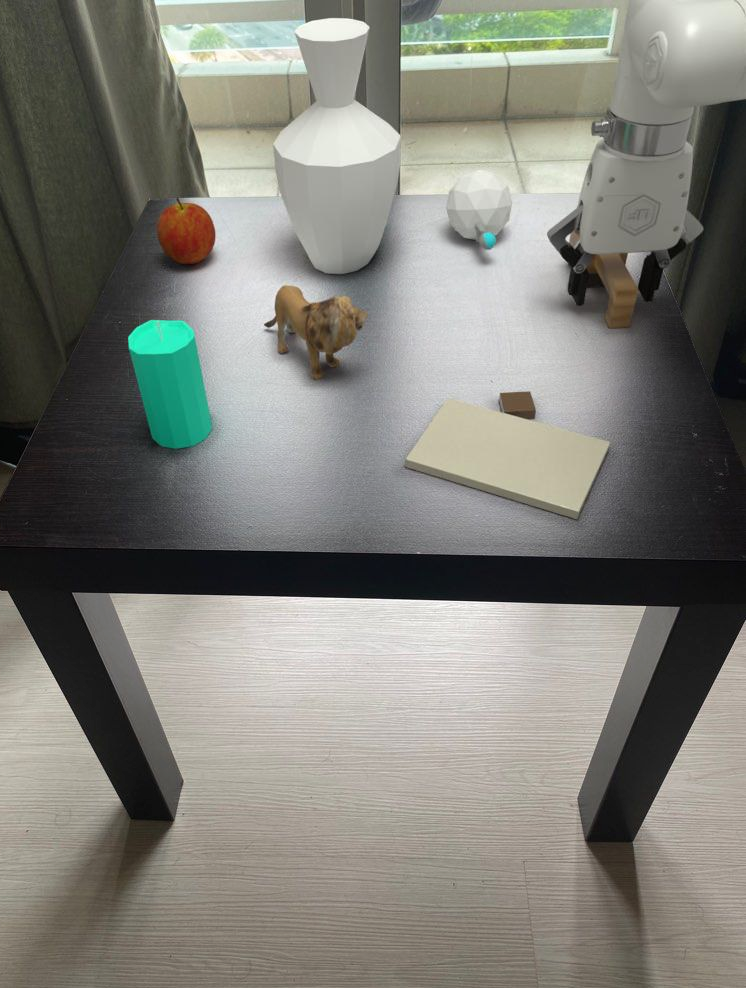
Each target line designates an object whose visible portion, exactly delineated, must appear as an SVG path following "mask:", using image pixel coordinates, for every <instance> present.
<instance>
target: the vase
mask: <svg viewBox="0 0 746 988" xmlns="http://www.w3.org/2000/svg"><path fill="white" fill-rule="evenodd" d="M369 32H370V25H368V24H367V23H366V22H365V21H362V20H358V19H354V18H348V17H347V18H346V17H345V18H344V17H342V18H341V17H328V18H322V19H316V20H311V21H307V22H306V23H303V24H300V25H298V27H296V29H295V30H294V35H295V38H296V41H297V44H298V47H299V50H300V54H301V57H302V61H303V63H304V67H305V70H306V73H307V76H308V80H309V82H310V85H311V89H312V92H313V95H314V98H315V101H314V102H313V103H312V104H311V105H310V106H309V107H308V108H306V109H305V110H304V111H303V112H302V113H301V114H299V115H298V116H296V118H295V119H293V120H292V121H291V122H290V123H289V124H288V125H286V126H285V127H284V128H283V129H282V130H281V131H280V132H279V134H278V135H277V137H276V138H275V140H274V142H273V143H272V148H273V159H274V169H275V175H276V179H277V180H276V181H277V185H278V189H279V194H280V196H281V199H282V201H283V204H284V207H285V209H286V212H287V215H288V218H289V219H290V222H291V225H292V228H293V230H294V233H295V234H296V237H297V238H298V240H299V242H300V244H301V245H302V247H303V249H304V251H305V253H306V254H307V256H308V258H309V260H310V262H311V264H312V265H313V268H314V269H315V270H317V271H320V272H322V273H325V274H328V275H329V274H331V275H345V274H349V273H354V272H358V271H359V270H361V269H362V268H364V267H365V266H367V265H368V264H370V262H371V260H372V259H373V257H374V256H375V254H376V253H377V251H378V248H379V246H380V245H381V241H382V238H383V235H384V232H385V229H386V227H387V224H388V220H389V216H390V213H391V209H392V205H393V202H394V198H395V194H396V191H397V187H398V183H399V178H400V177H399V176H400V169H401V161H402V160H401V156H402V155H401V151H402V150H401V149H402V147H401V146H402V145H401V144H402V136H401V134H399V132H398V131H397V130H396V129H395V128H394V127H393V126H392V125H391V124H390V123H388V121H386V120H384V119H383V118H382V117H380V116H378V115H377V114H375V113H374V112H373V111H371V110H370V109H369V108H367V107H365V106H364V105H363V104H361V103H360V102H359V101H357V100H355V97H356V92H357V87H358V82H359V78H360V73H361V69H362V64H363V60H364V55H365V50H366V46H367V41H368V37H369Z"/></svg>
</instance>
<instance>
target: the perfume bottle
mask: <svg viewBox="0 0 746 988" xmlns="http://www.w3.org/2000/svg"><path fill="white" fill-rule="evenodd" d="M510 191H511V190H510V185H509V184H508V183H507V182H505V180H504V179H502V178H501V177H500V176H499V175H498V174H496V172H492V171H488V170H483V169H480V168H479V169H476V170H473V171H470V172H467V173H465V174H462V175H460V176H459V178H458V179H457V180H456V182H454V184H453V185H452V186H451V188H450V189H449V190H448V195H447V200H446V204H445V205H446V206H445V210H446V213H447V217H448V222H449V224H450V227H452V228H453V229H454V230H455V231H456V232H457V233H458V234H459V235H460V236H461V237H462V238H464V239H467V240H468V239H469V240H473V241H475V242H476V243H479V246H480V248H482V249H483V250H485V251H491V250H492V248H495V245H496V242H497V237H496V236H497V235H498V234H499V233H500V232H501V231H502V229H503V228H504V227H505V226H506V225H507V223H508V222H509V221H510V218H511V213H512V205H513V200H512V195H511V192H510Z"/></svg>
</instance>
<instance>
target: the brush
mask: <svg viewBox="0 0 746 988" xmlns="http://www.w3.org/2000/svg"><path fill="white" fill-rule="evenodd" d="M579 239H580V235H578V234H576V233H575V231H573V232H572V233H570V234H569V241H568V242H569V244H570V245H571V246H572V247H573V248H574V246H575V245H576V243H577V242H578V240H579ZM628 255H629V253H620V254H596V255H595V256H594V258H593V259H592V261H591V262H590V264H589V265H588V266H587V270H588V272H589V280H588V285H587V288H594V287H604V288H605V290H606V291H607V294H608V296H609V299H608V304H607V308H606V312H605V317H604V319H605V322H606V325H607V327H608V328H609V329H617V328H619V329H620V328H629V327H630V325H631V320H632V317H633V312H634V309H635V305H636V302H637V298H638V293H639V290H638V285H637V284H636V282H635V280H634V279H633V277H632V274H631V273H630V271H629V269H628V268H627V266H626V264H627V259H628ZM567 265H568V267H569V269H570V270H571V266H570V265H569V264H568V263H567Z"/></svg>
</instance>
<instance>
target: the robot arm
mask: <svg viewBox="0 0 746 988" xmlns="http://www.w3.org/2000/svg"><path fill="white" fill-rule="evenodd" d="M627 4H628V5H627V9H626V13H625V20H624V26H623V31H622V38H621V43H620V48H619V54H618V59H617V64H616V71H615V76H614V82H613V85H612V87H613V88H612V92H611V98H610V104H609V107H608V108H607V109H606V113H605V116H604V117H603V118H600V120H593V121H592V122H591V127H590V131H591V136H592V137H599V138H601V139H599V140H598V141H597V142H596V144H595V147H594V149H593V152H592V155H591V157H590V159H589V163H588V164H587V165H588V166H587V169H586V171H585V175H584V178H583V182H582V186H581V189H580V194H579V197H578V201H577V204H576V205H577V206H576V208H575V209H574V210H573V211H571V212H570V213H569V214H567V215H566V216H565V217H563V218H562V219H561V220H560V221H558V222H557V223H556V224H555V225H553V226H552V227H551V228H550V229H548V230H547V232H546V237H547V238H548V240H549V243H550V244H551V245H552V246H553V247H554V249H555V250H556V251H557V253H558V254H559V256H560V255H561V258H562V259H563V260H564V261H565V262H566V263H567V265H568V264H569V265H570V266H571V269H570V270H569V275H568V282H567V293H568V296H569V297H572V299H573V302H574V304H575V306H576V307H582V306H584V305H585V301H586V295H587V291H588V287H587V285H588V280H589V272H588V270H587V266H588V265H589V264H590V262H591V261H592V259H593V258H594V256H595V255H596V254H620V253H628V254H635V253H637V254H638V253H649V254H647V255H646V256H645V257H644V259H643V263H642V266H641V272H640V275H639V276H640V277H639V280H638V284H637V288H638V293H639V294H640V296H641V298H642V299H643V301H644V302H645V303H652V302H653V300H654V295H655V291H657V292H658V290H659V288H660V285H661V280H662V277H663V273H664V269H666V268H668V267H669V266H670V265H671V261H672V260H673V259H675V258H676V257H677V256H678V255H680V254H681V253H682V252H684V251H685V250H686V248H687V245H688V244H691V243H692V242H693V241H694V240H695V239H696V238H697V237H699V236H700V235H701V234H702V233H703V232H704V226H703V225H702V223H701V222H700V221H699V220H698V218H697V217H695V215H694V214H693V213H692V212H690V210H688V204H689V196H690V191H691V183H692V171H693V160H694V159H693V158H694V157H693V156H694V147H693V146H692V145H691V143H689V142H688V141H687V140H688V139H687V138H688V134H689V131H690V126H691V122H692V118H693V114H694V112H695V111H694V109H695V108H698V107H704V106H711V105H712V106H713V105H719V104H721V103H728V102H736V101H743V100H746V0H628V3H627ZM602 138H603V139H602ZM573 231H575V233H576V234H578V235H580V239H579V240H578V242H577V243H576V245H575V246H574V248H573V247H572V246H571V245H570V244H569V241H567V240H566V239H567V237H568V236H570V234H571V233H572V232H573ZM569 265H568V266H569Z"/></svg>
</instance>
